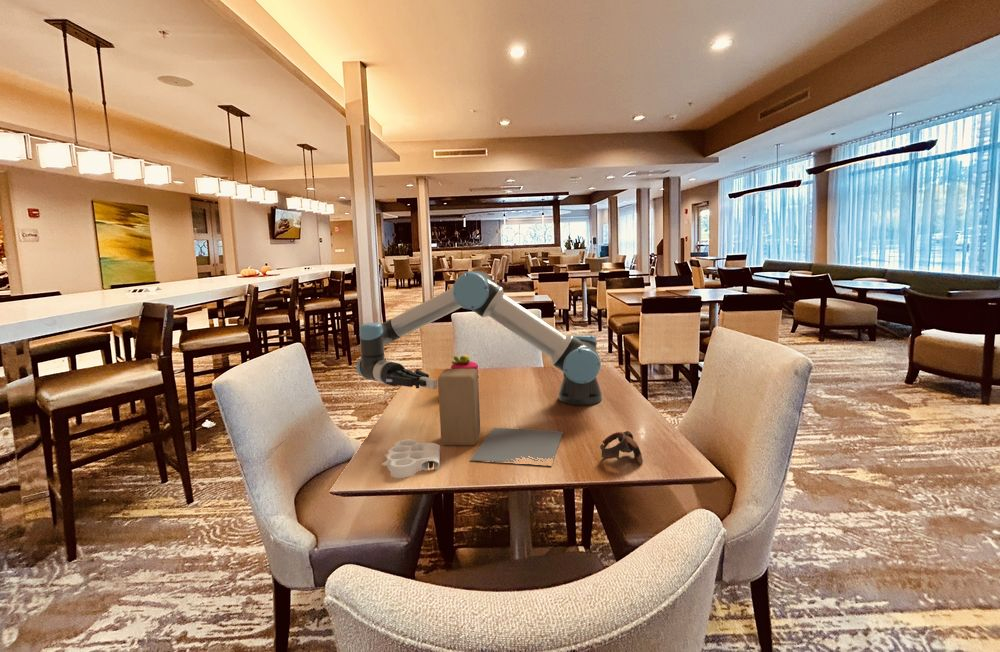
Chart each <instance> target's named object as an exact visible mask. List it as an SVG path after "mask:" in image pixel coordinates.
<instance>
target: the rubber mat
mask: <svg viewBox="0 0 1000 652" xmlns="http://www.w3.org/2000/svg"><path fill="white" fill-rule="evenodd" d="M562 434H564V431H562V430H543V429H541V430H540V429H524V428H522V429H521V428H505V427H504V428H503V427H493V428H491V430H490V432H489V433H488V435H487V436H486V437H485V439H484V441H483V442H482V443H481V444H480V446H479V447H478V448H477V450H476V452H474V454H473V456H471V458H470V460H472V461H471V462H473V461H490V462H492V461H493V462H505V461H506V462H508V461H509V462H514V461H513V460H515V461H516V459H515V458H520V459H522V457H525V458H529V457H528V456H530V457H533V458H535V459H537V457H538V458H543V459H545V458H546V459H548V458H550V459H551V458H554V457H556V455H557V452H558V449H559V447H560V443H561V441H562V438H561V437H563V435H562ZM557 448H558V449H557ZM556 451H557V452H556ZM555 454H556V455H555ZM521 456H522V457H521ZM553 456H554V457H553ZM507 459H508V460H507ZM511 459H513V460H511ZM529 459H532V458H529ZM535 459H532V460H534V461H538V460H539V459H538V460H535ZM554 459H555V458H554ZM518 461H519V460H518ZM540 461H542V460H540ZM545 461H546V460H545ZM542 462H543V461H542Z"/></svg>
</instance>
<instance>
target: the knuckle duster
mask: <svg viewBox="0 0 1000 652" xmlns="http://www.w3.org/2000/svg"><path fill="white" fill-rule="evenodd" d="M440 446H441V445H439V444H438V443H436V442H419V441H418V440H417V439H408V438H407V439H403V440H402V439H401V440H399V441H397V442H395V445H394V446H392V447H390V448H389V449H388V451H387V453H385V454H384V455H383V456H384V457H385V458H386V460H385V461H384V462H382V463H381V464H380V465H382V466H385V467H387V470H388V471H390V477H392V476H393V477H392V478H394V477H396V478H395V479H406V478H405V477H407V478H410V477H413V476H414V475H416V473H418V471H419V472H422V471H421V470H424V471H427V470H428V461H429V462H433V461H434V469H435V470H437V469H439V467H440V458H441V455H440V452H441V447H440ZM409 476H410V477H409Z"/></svg>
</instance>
